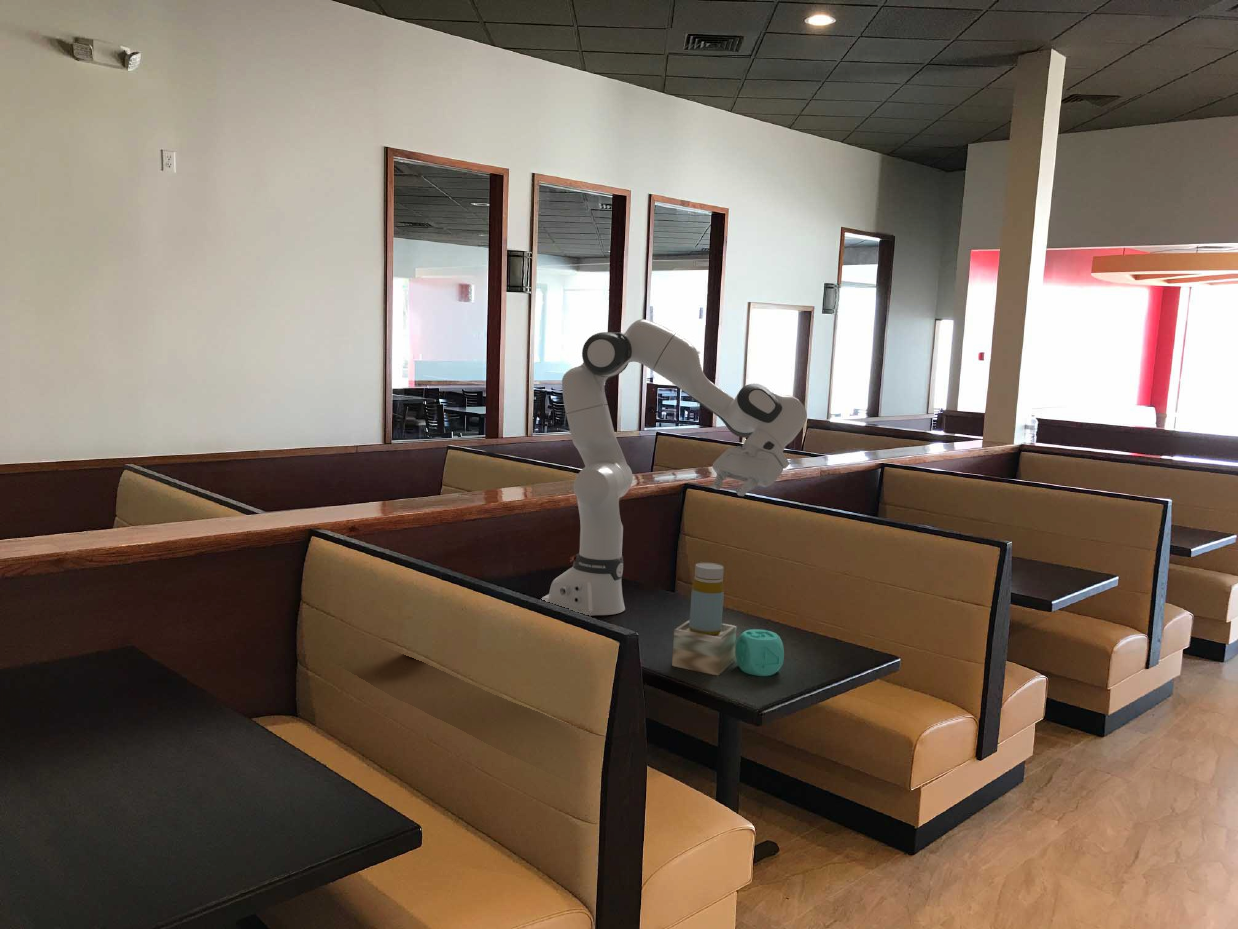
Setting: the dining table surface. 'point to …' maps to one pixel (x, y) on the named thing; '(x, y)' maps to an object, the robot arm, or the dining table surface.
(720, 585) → the bottle
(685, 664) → the open square box
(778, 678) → the dining table surface
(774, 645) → the decorative dice
